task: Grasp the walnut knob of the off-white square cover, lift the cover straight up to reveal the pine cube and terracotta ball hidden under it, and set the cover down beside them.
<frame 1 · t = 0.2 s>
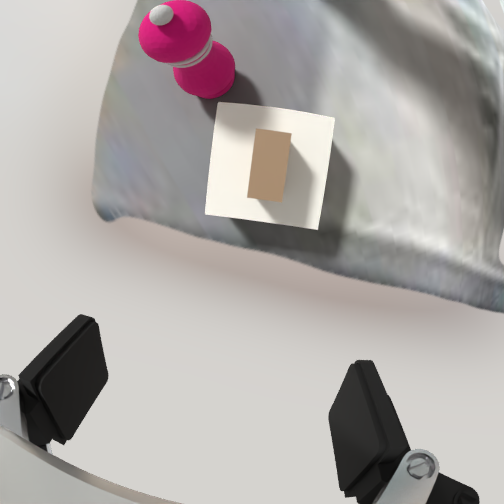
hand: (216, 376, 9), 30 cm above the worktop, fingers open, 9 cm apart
pepper mill: (211, 78, 32), on the worktop
cover: (269, 163, 35), on the worktop
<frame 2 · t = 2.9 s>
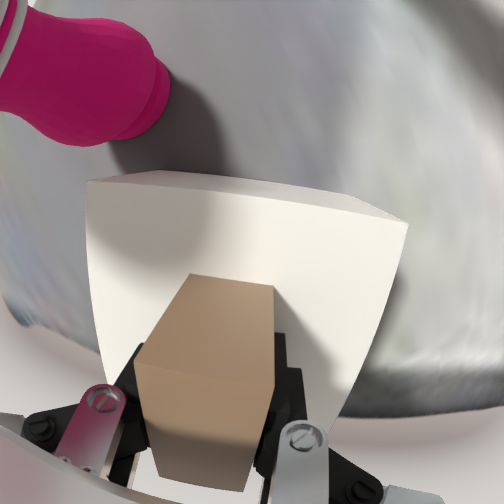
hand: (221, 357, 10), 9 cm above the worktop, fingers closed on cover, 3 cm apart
pepper mill: (129, 95, 16), on the worktop
cover: (241, 272, 19), on the worktop, touching gripper
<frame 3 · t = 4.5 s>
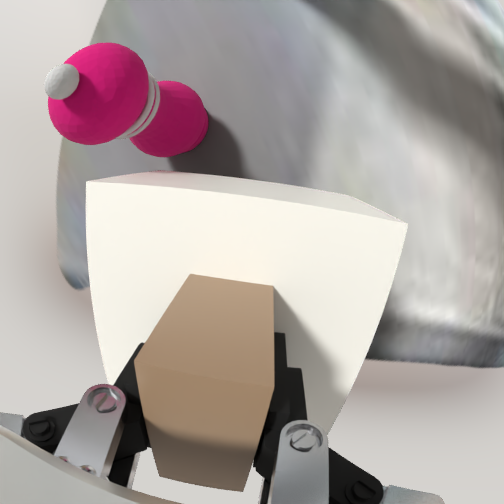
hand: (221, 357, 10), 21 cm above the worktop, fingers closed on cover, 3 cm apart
pepper mill: (180, 125, 27), on the worktop
cover: (241, 272, 19), point 12 cm above the worktop, touching gripper
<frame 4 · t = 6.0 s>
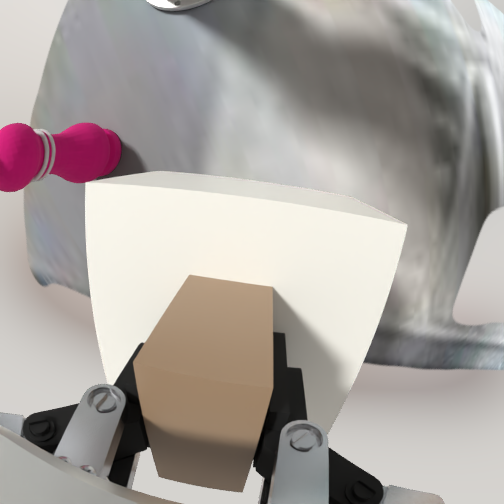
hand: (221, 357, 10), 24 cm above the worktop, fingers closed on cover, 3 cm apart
pepper mill: (102, 152, 32), on the worktop
cover: (241, 273, 19), point 15 cm above the worktop, touching gripper
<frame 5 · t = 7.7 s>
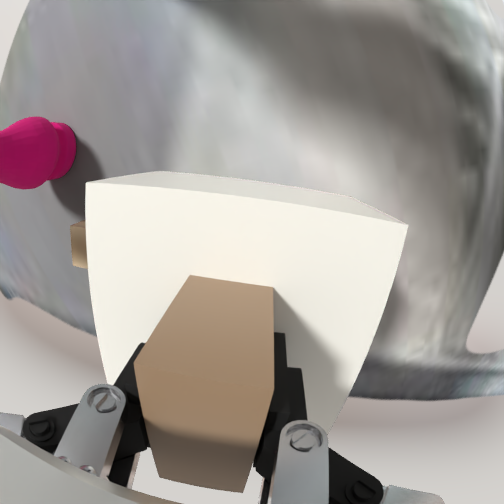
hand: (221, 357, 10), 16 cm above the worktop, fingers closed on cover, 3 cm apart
pine cube: (107, 237, 27), on the worktop
pepper mill: (57, 150, 24), on the worktop
cover: (241, 273, 19), point 8 cm above the worktop, touching gripper
when the fingers open (11 cm above the worktop, at t = 9.0 s): cover drops 2 cm, on the worktop.
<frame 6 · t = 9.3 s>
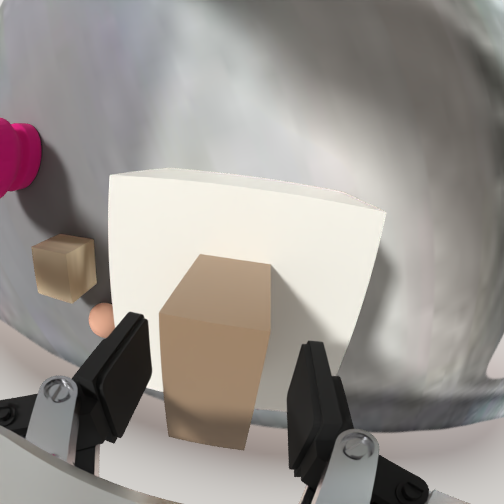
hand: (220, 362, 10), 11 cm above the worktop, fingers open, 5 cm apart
terracotta ball: (113, 312, 23), on the worktop
pine cube: (77, 258, 21), on the worktop
pepper mill: (23, 155, 19), on the worktop
cover: (242, 261, 21), on the worktop
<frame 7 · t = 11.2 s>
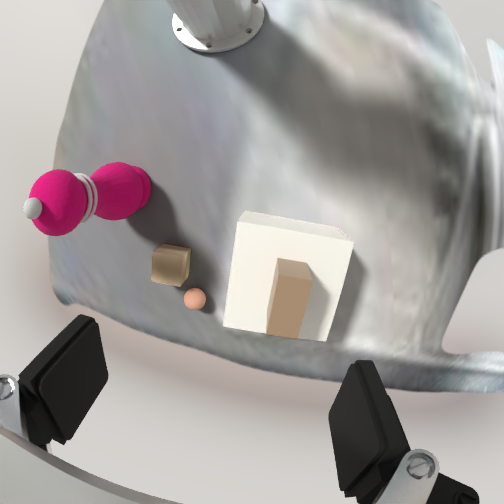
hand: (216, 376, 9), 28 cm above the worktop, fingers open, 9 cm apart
terracotta ball: (197, 294, 39), on the worktop
pine cube: (176, 259, 38), on the worktop
pepper mill: (132, 188, 36), on the worktop
cover: (283, 263, 37), on the worktop
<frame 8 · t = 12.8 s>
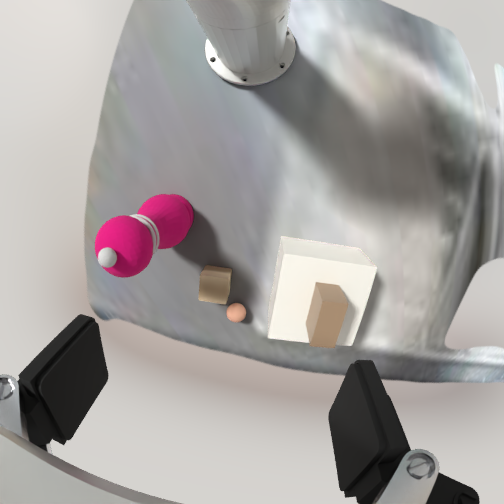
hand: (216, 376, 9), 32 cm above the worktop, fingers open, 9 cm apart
terracotta ball: (237, 307, 45), on the worktop
pine cube: (217, 278, 44), on the worktop
pepper mill: (174, 214, 41), on the worktop
cover: (313, 279, 43), on the worktop
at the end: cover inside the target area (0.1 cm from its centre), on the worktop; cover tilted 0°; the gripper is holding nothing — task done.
